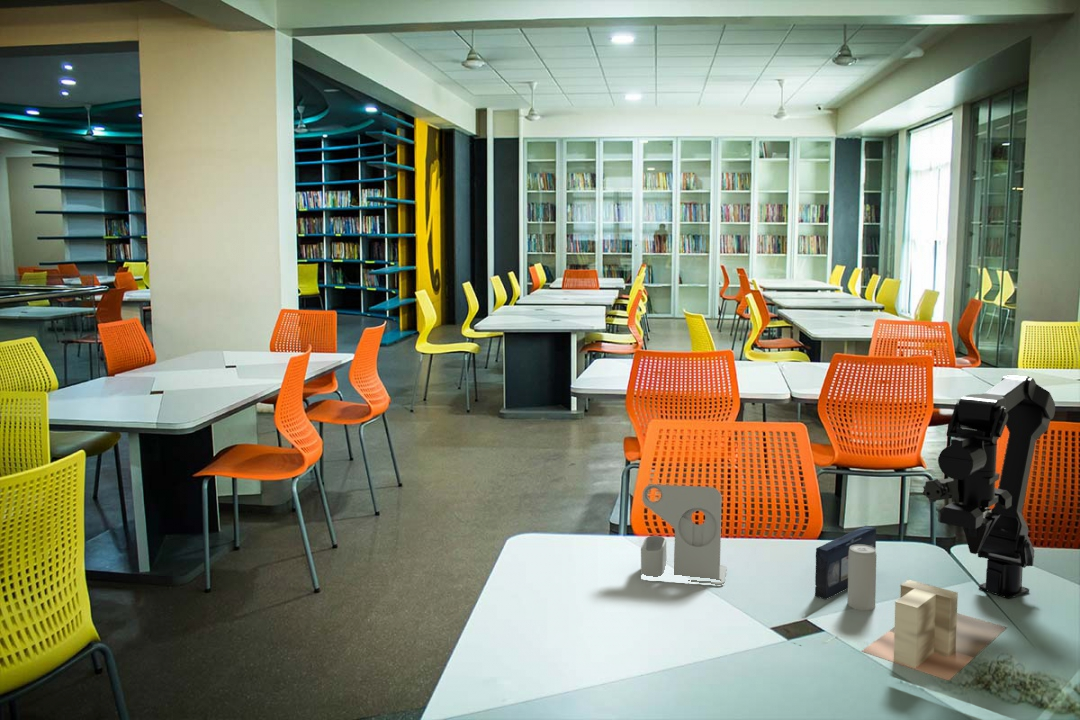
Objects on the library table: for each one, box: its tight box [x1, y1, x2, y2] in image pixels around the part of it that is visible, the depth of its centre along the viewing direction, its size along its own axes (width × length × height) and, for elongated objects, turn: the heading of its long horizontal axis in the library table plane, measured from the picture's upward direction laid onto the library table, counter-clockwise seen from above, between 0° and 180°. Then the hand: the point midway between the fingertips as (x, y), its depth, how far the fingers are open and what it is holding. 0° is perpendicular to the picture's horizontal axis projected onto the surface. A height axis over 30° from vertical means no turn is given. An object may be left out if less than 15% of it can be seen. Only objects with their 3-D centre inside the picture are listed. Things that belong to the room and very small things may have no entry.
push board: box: [861, 612, 1008, 681], centre depth 147 cm, size 25×14×1 cm, turn 134°
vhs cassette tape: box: [814, 525, 877, 600], centre depth 173 cm, size 18×3×10 cm, turn 129°
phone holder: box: [640, 483, 728, 585], centre depth 180 cm, size 17×10×18 cm, turn 75°
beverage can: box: [847, 544, 877, 611], centre depth 161 cm, size 5×5×12 cm
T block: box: [894, 579, 959, 668], centre depth 141 cm, size 10×8×10 cm
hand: (973, 553), depth 156 cm, fingers closed
